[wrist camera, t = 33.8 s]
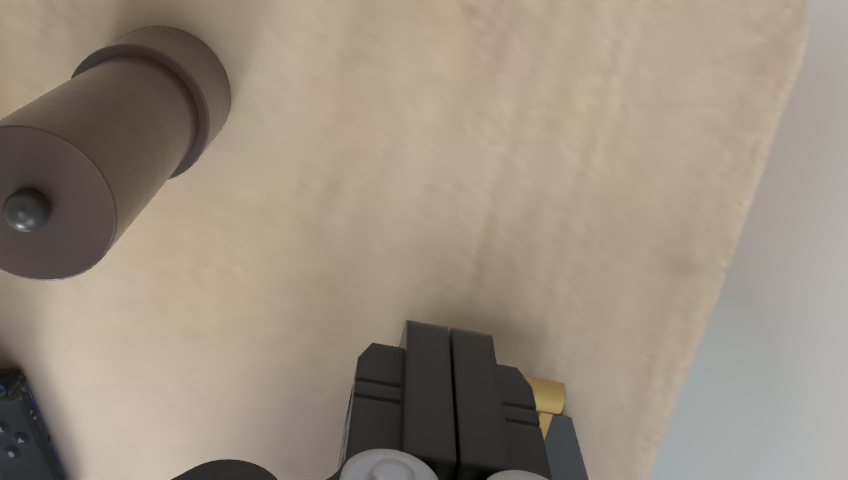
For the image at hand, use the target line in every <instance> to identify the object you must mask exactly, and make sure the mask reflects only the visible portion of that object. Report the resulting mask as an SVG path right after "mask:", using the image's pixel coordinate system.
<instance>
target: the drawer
mask: <svg viewBox="0 0 848 480" xmlns="http://www.w3.org/2000/svg"><path fill="white" fill-rule="evenodd" d="M524 378H525V379H526V380H527V381H528V383H529V384H530V385H531V386H532V389H533V393H534V398H535V403H536V410H537V412H538V416H539V421H540V428H541V430H542V434H543V439H544V443H545V448H546V453H547V457H548V462H549V466H550V471H551V475H552V480H589V479H588V476H587V472H586V469H585V465H584V462H583V458H582V454H581V451H580V447H579V444H578V440H577V437H576V433H575V429H574V426H573V422H572V419H571V418H570V417H565V416H559V415H553V413H554V414H560V413H561V411H562V409H563V407H564V403H565V395H566V391H565V385H564V384H563V383H559V382H553V381H548V380H542V379H536V378H530V377H525V376H524Z"/></svg>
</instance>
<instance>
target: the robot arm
mask: <svg viewBox="0 0 848 480" xmlns="http://www.w3.org/2000/svg"><path fill="white" fill-rule="evenodd" d="M171 480H277V478H276V477H275V476H274V475H272V474H271V473H270V472H269V471H267V470H266V469H264V468H262V467H260V466H258V465H256V464H253V463H250V462H246V461H241V460H230V459H228V460H216V461H211V462H207V463H204V464H201V465H199V466H197V467H194V468H192V469H190V470H189V471H187V472H185V473H183V474H181V475H179V476H177V477H175V478H173V479H171ZM327 480H552V475H551V471H550V466H549V462H548V457H547V453H546V448H545V443H544V439H543V434H542V430H541V428H540V421H539V416H538V412H537V411H536V403H535V398H534V393H533V389H532V386H531V385H530V384H529V383H528V381H527V380H526V379H525V378H524V376H523V375H522V374H521V373H520V371H519V370H518V369H517V368H515V367H510V366H504V365H498V364H496V358H495V352H494V345H493V339H492V336H491V335H490V334H484V333H479V332H473V331H467V330H462V329H456V328H449V330H448V328H447V327H444V326H438V325H433V324H427V323H421V322H416V321H410V320H406V322H405V325H404V329H403V333H402V337H401V342H400V346H399V347H394V346H388V345H382V344H376V343H372V344H371V345H370V346H369V347H368V348H367V349H366V350H365V351H364V352H363V353H362V354H361V355H360V356H359V357H358V362H357V366H356V371H355V376H354V381H353V386H352V391H351V396H350V401H349V406H348V411H347V416H346V420H345V425H344V431H343V438H342V446H341V453H340V460H339V469H338V471H337V472H336V473H335V474H334V475H333V476H332V477H330V478H328V479H327Z"/></svg>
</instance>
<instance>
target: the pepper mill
mask: <svg viewBox="0 0 848 480" xmlns="http://www.w3.org/2000/svg"><path fill="white" fill-rule="evenodd" d="M230 100H231V95H230V86H229V82H228V78H227V75H226V73H225V70H224V68H223V67H222V65H221V63H220V61H219V60H218V58H217V57H216V56H215V54H214V53H213V52H212V51H211V50H210V49H209V48H208V47H207V46H206V45H205V44H204V43H202V42H201V41H200V40H198V39H197V38H195V37H194V36H192V35H190V34H188V33H186V32H183V31H181V30H178V29H174V28H170V27H161V26H153V27H145V28H142V29H138V30H135V31H133V32H131V33H129V34H127V35H125V36H123V37H121V38H120V39H118V40H116V41H114V42H112V43H110V44H109V45H107V46H105V47H103V48H101V49H99V50H98V51H96V52H94V53H93V54H91V55H89V56H88V57H87V58H86V59H85V60H84V61H82V63H81V64H80V65H79V66H78V67H77V69H76V70H75V72H74V73H73V75H72V77H71V79H70V80H68V81H67V82H65V83H63V84H62V85H60V86H58V87H56V88H55V89H53V90H51V91H50V92H48V93H46V94H44V95H43V96H41V97H39V98H38V99H36V100H34V101H32V102H31V103H29V104H27V105H26V106H24V107H22V108H20V109H19V110H17V111H15V112H14V113H12V114H10V115H8V116H7V117H5V118H3V119H2V120H0V269H2V270H4V271H6V272H8V273H11V274H14V275H16V276H19V277H23V278H27V279H33V280H41V281H53V280H62V279H66V278H71V277H74V276H77V275H79V274H82V273H84V272H85V271H87V270H89V269H91V268H92V267H93V266H95V265H96V264H97V263H98V262H99V261H100V260H101V259H102V258H103V257H104V256H105V255H106V253H107V252H108V251H109V250H110V249H111V247H112V246H113V245H114V244H115V243H116V241H117V240H118V239H119V238H120V236H121V235H122V234H123V233H124V232H125V230H126V229H127V228H128V227H129V226H130V224H131V223H132V222H133V221H134V220H135V218H136V217H137V216H138V215H139V214H140V212H141V211H142V210H143V209H144V208H145V206H146V205H147V204H148V203H149V202H150V200H151V199H152V198H153V197H154V195H155V194H156V193H157V192H158V191H159V189H160V188H161V187H162V186H163V185H164V183H165V182H166V181H167V180H168V179H171V178H173V177H176V176H178V175H180V174H182V173H183V172H185V171H186V170H187V169H189V168H190V167H191V166H192V165H193V164H194V163H195V162H196V161H197V160H198V158H199V157H200V156H201V155H202V153H203V152H204V151H205V150H206V148H207V147H208V146H209V144H210V143H211V142H212V141H213V139H214V138H215V137H216V135H217V134H218V133H219V131H220V130H221V129H222V127H223V125H224V123H225V121H226V119H227V116H228V113H229V109H230Z"/></svg>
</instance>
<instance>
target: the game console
mask: <svg viewBox="0 0 848 480" xmlns="http://www.w3.org/2000/svg"><path fill="white" fill-rule="evenodd" d="M25 381H26V376H25V375H24V374H23V373H22V371H20V370H19V369H15V368H10V369H2V370H0V480H66V477H65V475H64V473H63V470H62V468H61V465H60V463H59V461H58V458H57V456H56V454H55V451H54V449H53V446H52V444H51V443H50V437H49V435H48V433H47V432H46V429H45V427H44V424H43V422H42V420H41V417H40V415H39V413H38V410H37V408H36V406H35V403H34V401H33V398H32V396H31V394H30V391H29V388H28V387H27V385H26V384H25Z"/></svg>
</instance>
